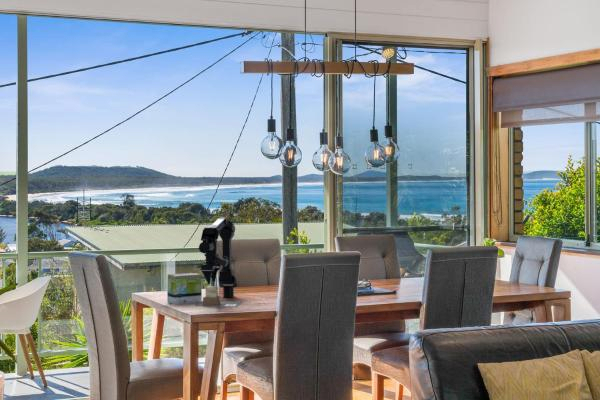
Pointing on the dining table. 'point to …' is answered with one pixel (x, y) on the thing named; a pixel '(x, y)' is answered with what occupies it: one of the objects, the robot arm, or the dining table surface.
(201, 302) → the build mat
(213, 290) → the grey green cube
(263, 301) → the dining table surface
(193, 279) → the tea box
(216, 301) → the walnut block
